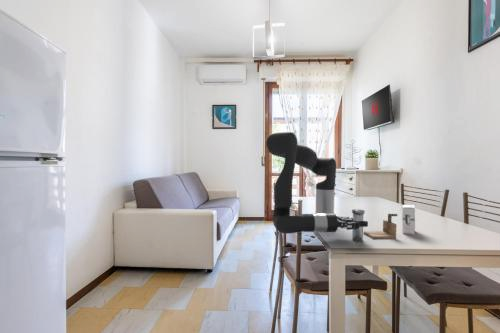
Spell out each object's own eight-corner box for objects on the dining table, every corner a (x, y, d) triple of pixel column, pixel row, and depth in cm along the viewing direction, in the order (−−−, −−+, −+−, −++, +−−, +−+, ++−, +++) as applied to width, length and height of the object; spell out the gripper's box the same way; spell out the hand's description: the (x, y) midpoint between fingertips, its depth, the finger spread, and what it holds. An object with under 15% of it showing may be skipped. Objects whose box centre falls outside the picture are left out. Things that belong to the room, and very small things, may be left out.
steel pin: (349, 238, 118) (349, 209, 117) (360, 237, 118) (361, 209, 118) (354, 241, 113) (355, 211, 113) (366, 241, 113) (366, 211, 113)
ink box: (402, 229, 134) (403, 204, 133) (415, 230, 131) (415, 205, 131) (401, 233, 126) (402, 206, 126) (414, 235, 124) (415, 208, 123)
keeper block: (363, 233, 125) (364, 212, 125) (390, 233, 126) (391, 212, 126) (372, 238, 117) (373, 215, 117) (401, 238, 118) (402, 215, 118)
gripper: (330, 217, 107) (373, 216, 108) (318, 210, 121) (356, 210, 123) (329, 236, 107) (373, 236, 109) (317, 227, 121) (356, 227, 123)
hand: (364, 222), depth 116 cm, fingers closed on steel pin, 4 cm apart
